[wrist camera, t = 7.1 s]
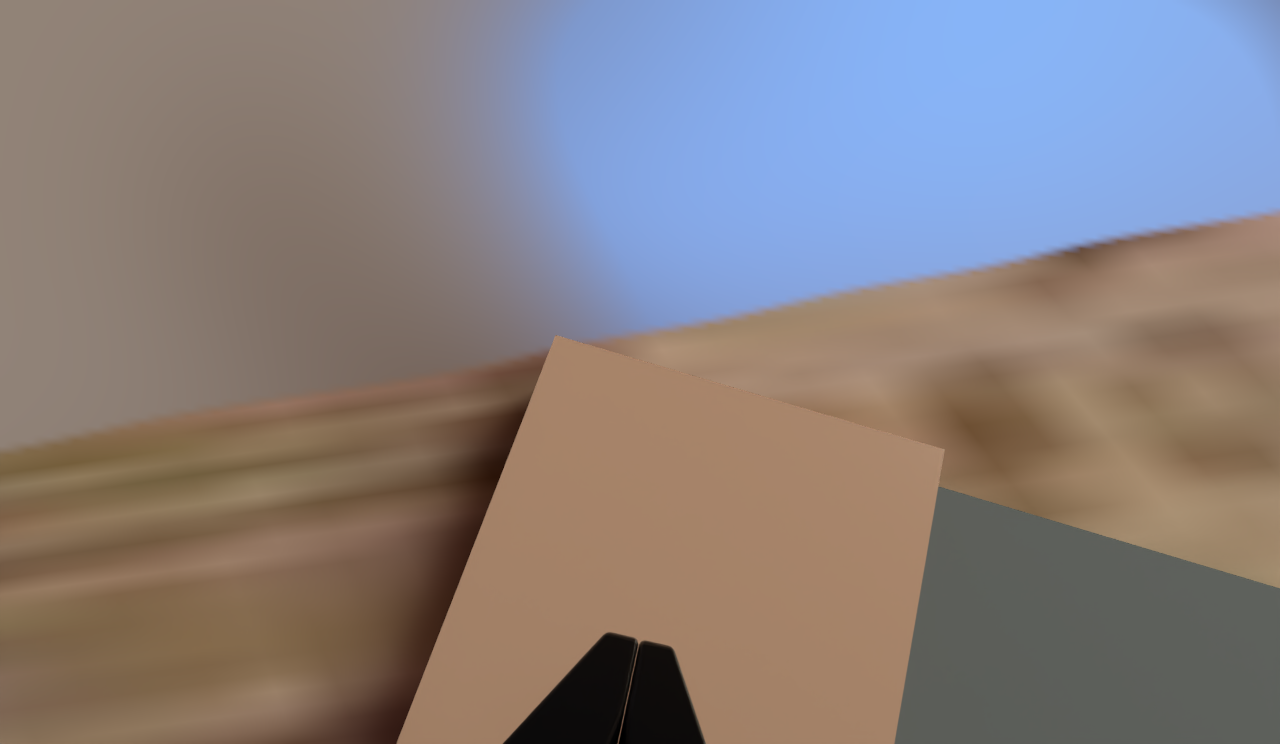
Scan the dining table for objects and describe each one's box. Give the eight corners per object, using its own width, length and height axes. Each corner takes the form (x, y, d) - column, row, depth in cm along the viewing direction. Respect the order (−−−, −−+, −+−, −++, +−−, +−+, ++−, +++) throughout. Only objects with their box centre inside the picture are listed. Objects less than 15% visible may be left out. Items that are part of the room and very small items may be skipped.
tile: (822, 1161, 11) (944, 449, 15) (312, 958, 12) (555, 334, 15) (795, 1090, 13) (910, 473, 16) (356, 919, 13) (563, 370, 17)
